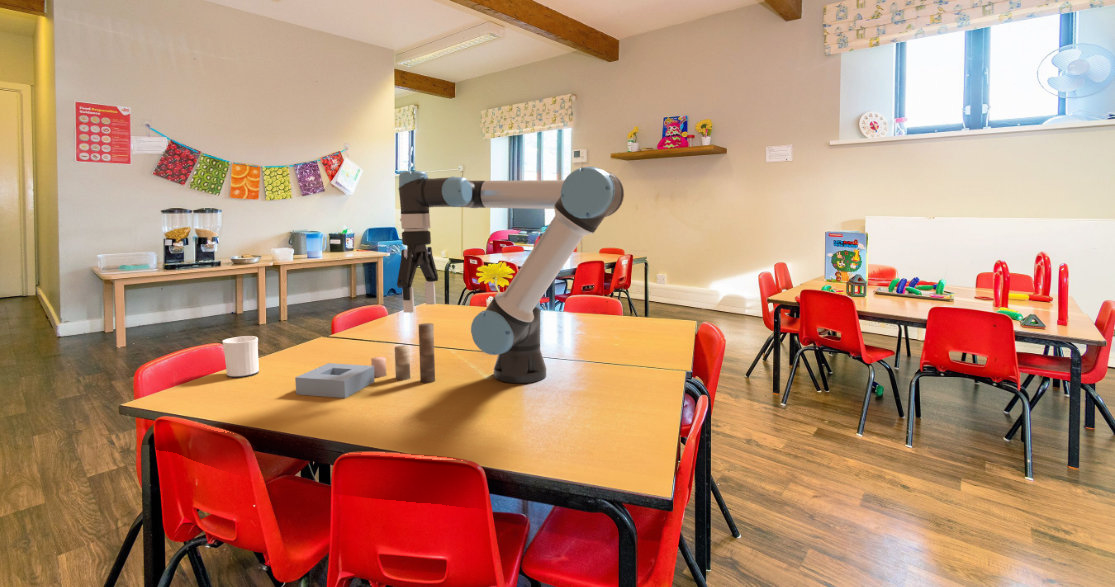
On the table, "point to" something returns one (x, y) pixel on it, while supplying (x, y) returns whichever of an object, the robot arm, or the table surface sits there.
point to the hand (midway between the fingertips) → (420, 308)
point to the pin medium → (402, 362)
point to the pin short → (379, 366)
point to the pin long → (426, 353)
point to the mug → (241, 356)
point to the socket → (335, 380)
